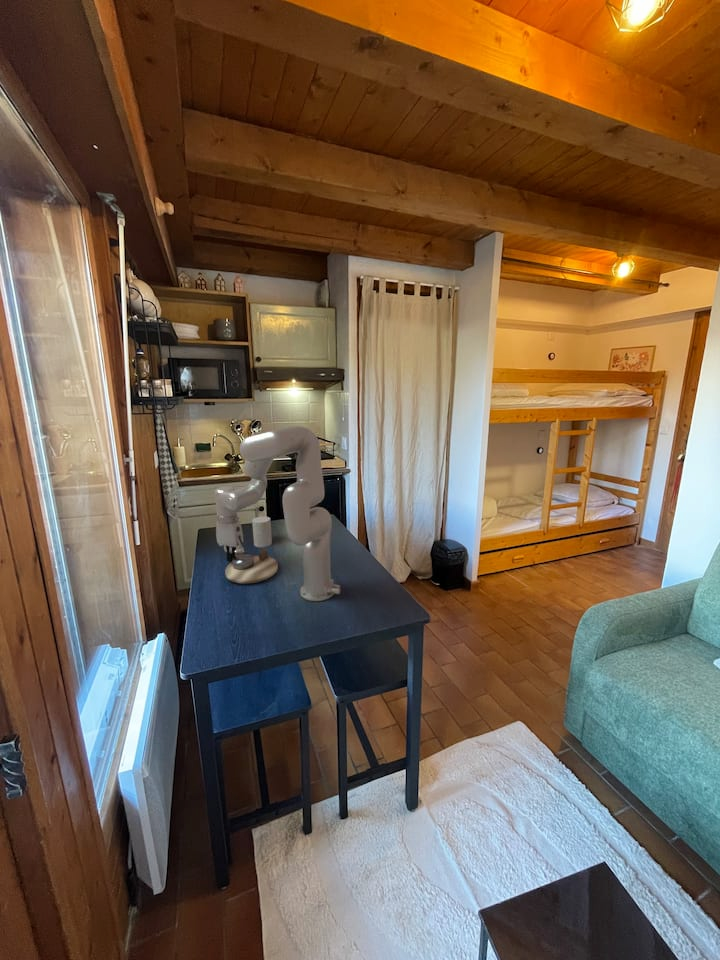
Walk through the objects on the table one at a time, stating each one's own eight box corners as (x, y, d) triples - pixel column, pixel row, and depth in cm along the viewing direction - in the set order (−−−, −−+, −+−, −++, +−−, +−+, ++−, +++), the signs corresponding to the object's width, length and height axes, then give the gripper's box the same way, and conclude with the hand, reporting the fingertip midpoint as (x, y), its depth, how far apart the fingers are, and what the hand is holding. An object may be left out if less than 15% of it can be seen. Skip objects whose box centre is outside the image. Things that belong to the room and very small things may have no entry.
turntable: (287, 563, 156) (286, 553, 154) (257, 587, 138) (256, 576, 137) (247, 555, 163) (246, 546, 162) (214, 577, 145) (213, 567, 144)
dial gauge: (243, 553, 167) (242, 545, 166) (244, 558, 163) (244, 550, 162) (229, 555, 165) (228, 547, 164) (230, 560, 161) (229, 552, 160)
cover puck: (257, 562, 154) (257, 555, 153) (245, 571, 146) (244, 564, 146) (241, 559, 156) (241, 552, 156) (228, 568, 149) (228, 561, 148)
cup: (250, 545, 176) (248, 520, 173) (262, 538, 183) (260, 515, 180) (263, 548, 172) (261, 523, 169) (275, 542, 179) (273, 518, 176)
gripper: (249, 517, 149) (252, 559, 154) (219, 512, 155) (223, 553, 159) (236, 523, 142) (240, 568, 147) (205, 518, 148) (210, 561, 153)
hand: (231, 560), depth 153 cm, fingers closed
